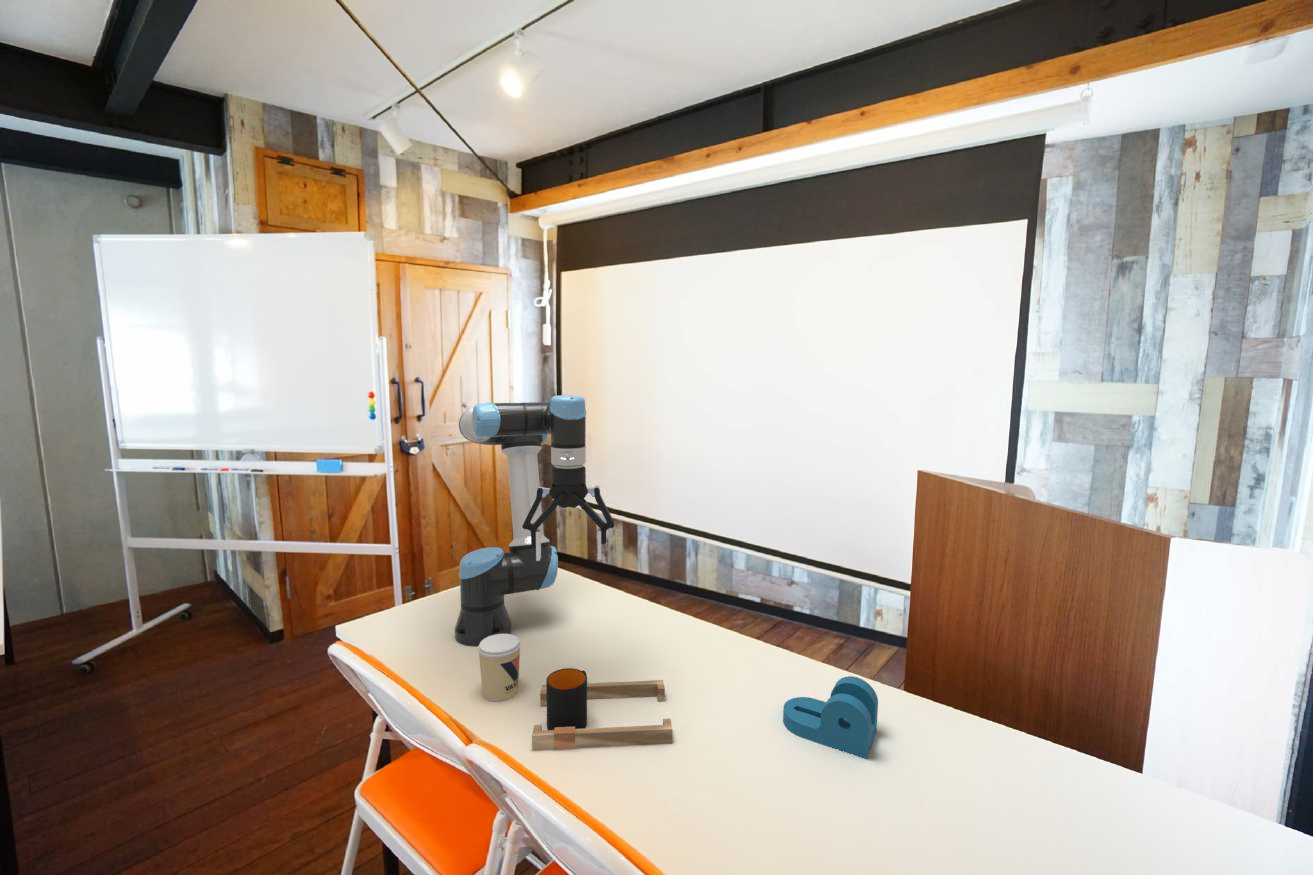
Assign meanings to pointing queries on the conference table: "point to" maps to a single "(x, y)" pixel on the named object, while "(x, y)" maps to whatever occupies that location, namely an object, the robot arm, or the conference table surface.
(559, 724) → the mug
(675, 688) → the conference table surface
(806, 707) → the camera mount
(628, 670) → the conference table surface
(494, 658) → the coffee cup
